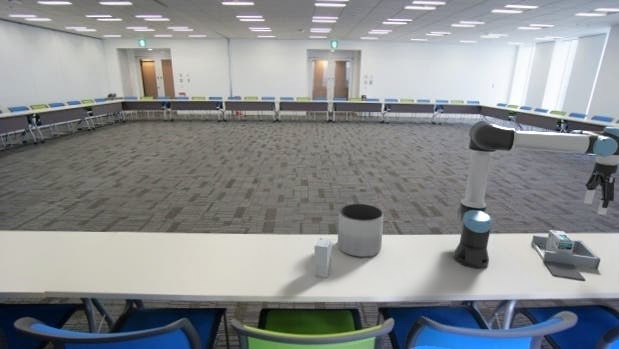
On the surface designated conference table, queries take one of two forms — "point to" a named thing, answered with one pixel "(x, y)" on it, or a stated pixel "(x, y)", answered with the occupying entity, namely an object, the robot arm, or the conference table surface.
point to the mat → (563, 270)
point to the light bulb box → (559, 242)
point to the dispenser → (585, 260)
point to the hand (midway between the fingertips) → (594, 208)
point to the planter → (360, 230)
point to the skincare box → (323, 257)
